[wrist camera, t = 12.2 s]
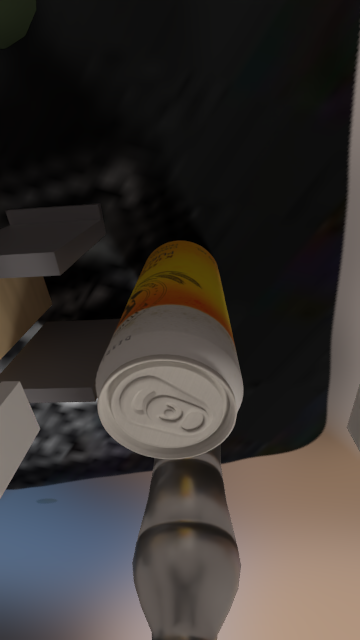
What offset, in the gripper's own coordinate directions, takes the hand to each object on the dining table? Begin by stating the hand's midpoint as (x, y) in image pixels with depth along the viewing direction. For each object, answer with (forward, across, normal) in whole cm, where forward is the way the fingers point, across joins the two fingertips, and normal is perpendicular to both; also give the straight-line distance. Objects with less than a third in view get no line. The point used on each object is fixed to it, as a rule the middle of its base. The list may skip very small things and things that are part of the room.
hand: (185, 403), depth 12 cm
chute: (+14, -10, 0) cm, 17 cm away
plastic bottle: (+14, -1, -13) cm, 20 cm away
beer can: (+14, -1, 0) cm, 15 cm away
